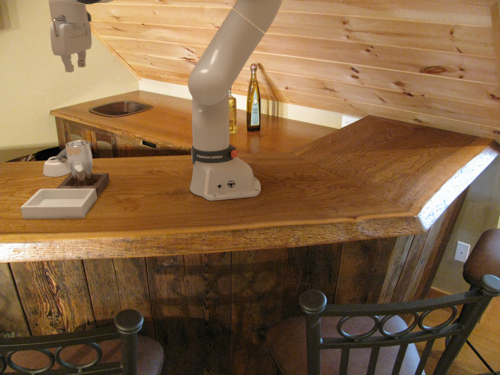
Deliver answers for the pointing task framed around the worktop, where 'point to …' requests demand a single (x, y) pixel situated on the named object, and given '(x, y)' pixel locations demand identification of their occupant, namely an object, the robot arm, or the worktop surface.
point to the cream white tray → (59, 203)
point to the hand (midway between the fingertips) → (76, 69)
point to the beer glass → (80, 162)
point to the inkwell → (57, 165)
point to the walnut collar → (100, 185)
